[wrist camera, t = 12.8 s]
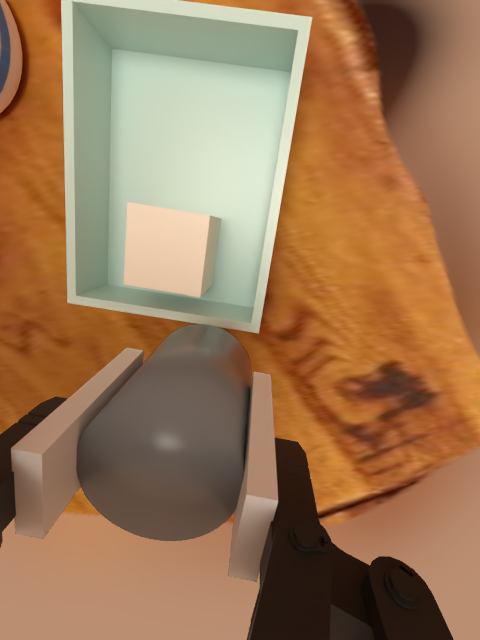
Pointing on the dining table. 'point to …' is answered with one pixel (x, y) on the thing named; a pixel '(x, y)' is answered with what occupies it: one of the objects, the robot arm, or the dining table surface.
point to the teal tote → (177, 143)
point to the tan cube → (170, 249)
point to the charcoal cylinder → (172, 439)
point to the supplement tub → (9, 56)
